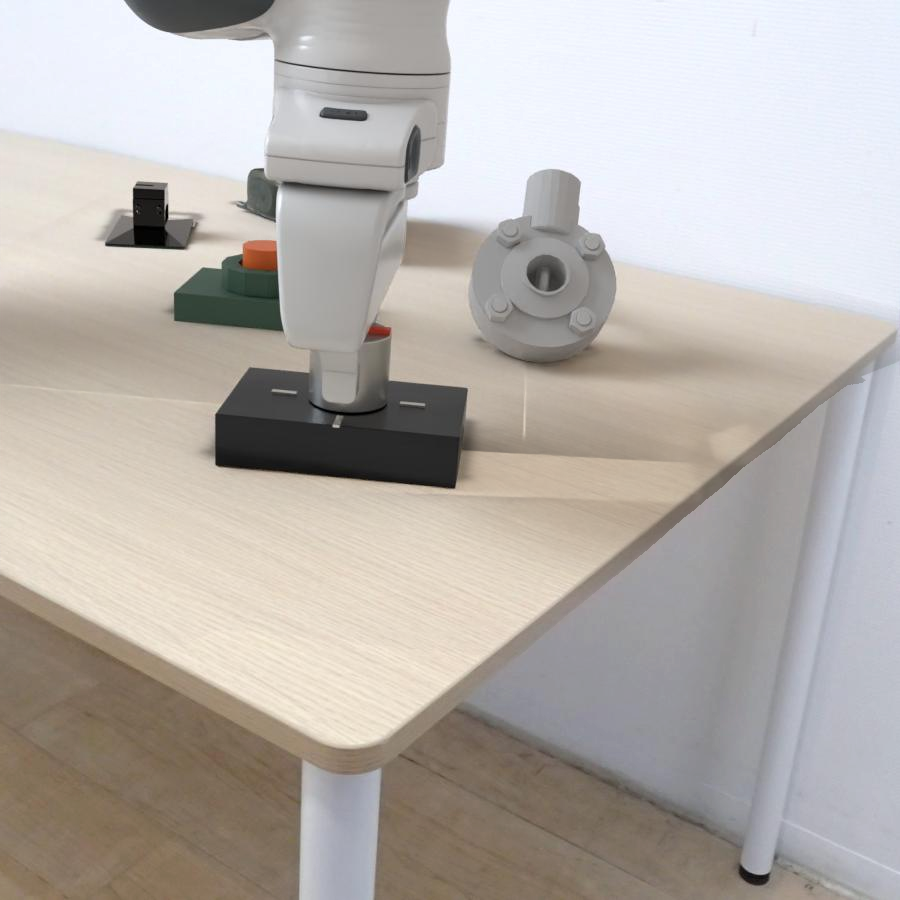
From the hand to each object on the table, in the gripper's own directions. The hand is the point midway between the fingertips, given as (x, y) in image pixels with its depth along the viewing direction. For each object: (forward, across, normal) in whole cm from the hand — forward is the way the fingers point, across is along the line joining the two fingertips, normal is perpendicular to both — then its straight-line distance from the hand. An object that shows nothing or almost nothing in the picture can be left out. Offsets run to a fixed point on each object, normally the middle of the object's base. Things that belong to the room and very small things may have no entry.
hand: (348, 381), depth 65 cm
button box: (+4, -25, -10) cm, 27 cm away
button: (+1, -25, -10) cm, 27 cm away
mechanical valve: (+4, -28, +10) cm, 30 cm away
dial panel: (+4, 0, 0) cm, 4 cm away
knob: (+1, 0, 0) cm, 1 cm away
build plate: (+4, -48, -26) cm, 55 cm away
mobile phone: (+4, -58, -15) cm, 60 cm away
